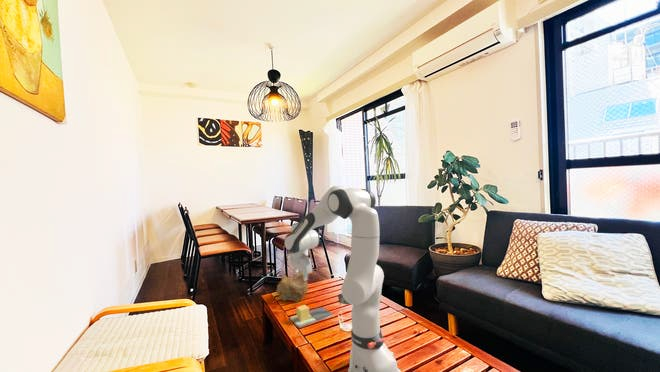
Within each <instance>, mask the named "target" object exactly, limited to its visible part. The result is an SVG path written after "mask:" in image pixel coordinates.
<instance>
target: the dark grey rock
mask: <svg viewBox="0 0 660 372" xmlns="http://www.w3.org/2000/svg"><path fill="white" fill-rule="evenodd" d="M337 297H338V299H339V303H340V304H343V305H350V304H349V303H348V302H347V301H346V300H345V299H344V298H343V296H342V292H341V293H339V294H338V296H337Z"/></svg>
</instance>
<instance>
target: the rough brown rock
mask: <svg viewBox="0 0 660 372" xmlns="http://www.w3.org/2000/svg"><path fill="white" fill-rule="evenodd" d="M299 274H300V275H299V276H296V274H294V276H293V277H288V276H287V275H283V276H282V277H281V279H280V282H279V283H278V284H277V286H276V287H277V288H276V289H275V290H276V291H275V292H276V295H278V296H280V297H281V299H282V301H285V302H286V301H293V302H295V303H300V302H301V301H302V299H303V298H304V296H305V295H306V293H307V292H308V289H309V284H308V281H307V280H308V279H307V280H306V281H304V280H303V277H304V273H303V272H302V271H299Z"/></svg>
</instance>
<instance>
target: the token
mask: <svg viewBox="0 0 660 372" xmlns="http://www.w3.org/2000/svg"><path fill="white" fill-rule="evenodd" d="M309 311H310V308H309V306H307V305H306V304H303V305H302V304H301V305H300V306H296V315H297V319H298V320H300V321H301V322H303V321H305V320H308V319H309Z"/></svg>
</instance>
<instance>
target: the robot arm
mask: <svg viewBox="0 0 660 372" xmlns="http://www.w3.org/2000/svg"><path fill="white" fill-rule="evenodd" d="M376 203H377V202H376V195H375V194H374V193H373V192H372V191H371V190H369V189H365V188H351V187H350V188H349V187H348V188H344V187H342V186H340V185H334V186H331V187H329V189H328V190H327V191H326V192H325V193H323V195H322V197H321V198H320V199H319V202H318V203H317V204H316V205H315V206H314V207H313V209H311V210H310V211H309V212H308V213H307V214H305V215H304V217H303V218H302V219H301V220H300V221H299V222H295V223H293V224H292V225H291V228H290V232H288V233H287V235H286V236H285V238H284V242H283V243H284V247H285V250H287V251H288V254H289V264H290V266H291V267H292V268H293V270H294V272H295V274H294V275H296V276H299V275H300V274H299V272H302V273H304V277H303V280H304V281H306V280H308V277H309V274H312V272H313V265H312V259H311V258H310V257H309V250H311V249H314V248H316V247H318V246H319V244H320V239H321V238H320V234H319V232H318V231H316V230H314V229H316V228H318V227H319V228H320V227H322V226H325V225H329V224H331V223H333V222H334V221H336V219H337V218H338V217H340V218H341V219H344V220H346V219H348V218H349V219H350V222H351V238H350V239H351V240H350V241H351V242H350V254H349V255H350V257H349V261H348V264H347V269H346V274H345V277H344V280H343V283H342V284H341V289H340V292H341V293H342V296H343V298H344V299H345V300H346V301H347V302H348V303H349V304H348V305H351V306H352V308H351V331H350V339H351V341H352V343H351V347H350V352H349V353H350V354H349V367H348V369H347V372H402V370H400V368H398V364H397V360H396V358H395V354H394V352H393V351H391V350H390V349H389V348H388V346H387V345H386V344H385V342H384V341H385V340H386V337H383V333H382V330H381V327H380V325H381V323H380V309H381V308H380V305H381V301H382V289H383V283H384V278H385V275H384V274H385V273H384V270H383V269H382V267H381V266H380V265H378V264H377V261H378V259H379V257H380V256H379V255H380V234H381V233H380V219H379V214H378V211H377V210H376V209H375V207H376V205H377V204H376Z"/></svg>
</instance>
